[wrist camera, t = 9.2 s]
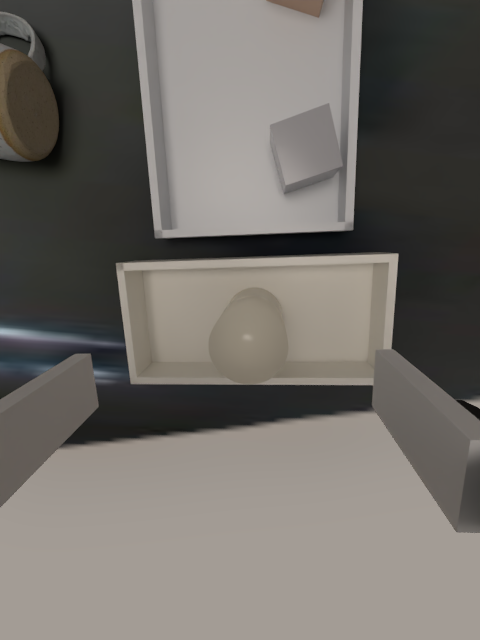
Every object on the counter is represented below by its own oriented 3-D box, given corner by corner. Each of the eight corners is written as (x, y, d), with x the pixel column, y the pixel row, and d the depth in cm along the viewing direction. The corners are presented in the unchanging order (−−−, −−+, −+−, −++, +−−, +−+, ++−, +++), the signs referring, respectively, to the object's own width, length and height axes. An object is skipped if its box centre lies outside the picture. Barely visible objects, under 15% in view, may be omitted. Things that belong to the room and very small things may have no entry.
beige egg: (225, 288, 28) (206, 308, 20) (282, 286, 28) (288, 307, 19) (227, 342, 29) (210, 384, 21) (282, 341, 29) (288, 384, 20)
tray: (166, 238, 28) (154, 238, 25) (137, -97, 23) (118, -146, 20) (343, 231, 27) (353, 230, 24) (357, -129, 21) (370, -187, 18)
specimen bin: (148, 366, 31) (130, 384, 27) (136, 260, 29) (115, 263, 25) (372, 366, 29) (388, 385, 25) (379, 252, 27) (398, 253, 23)
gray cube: (283, 194, 26) (285, 185, 22) (269, 142, 25) (269, 125, 22) (332, 177, 26) (343, 165, 22) (319, 124, 25) (329, 102, 21)
